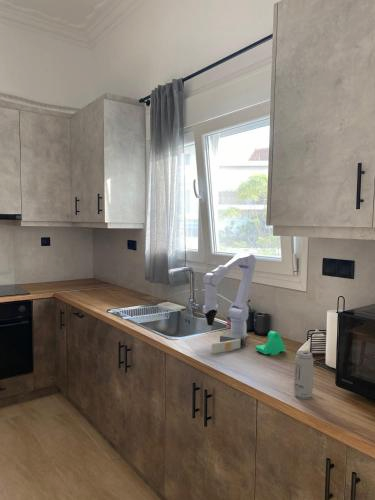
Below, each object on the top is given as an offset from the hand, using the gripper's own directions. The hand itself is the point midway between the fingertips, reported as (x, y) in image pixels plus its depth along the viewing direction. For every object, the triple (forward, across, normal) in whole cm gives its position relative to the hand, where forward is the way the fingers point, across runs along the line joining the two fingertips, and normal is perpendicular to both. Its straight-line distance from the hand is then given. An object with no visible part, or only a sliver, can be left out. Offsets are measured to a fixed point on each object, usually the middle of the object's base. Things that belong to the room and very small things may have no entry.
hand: (210, 325), depth 189 cm
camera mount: (+10, -3, +29) cm, 31 cm away
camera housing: (+9, -4, +10) cm, 14 cm away
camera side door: (+9, +7, +11) cm, 16 cm away
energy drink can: (+9, +39, +51) cm, 65 cm away
